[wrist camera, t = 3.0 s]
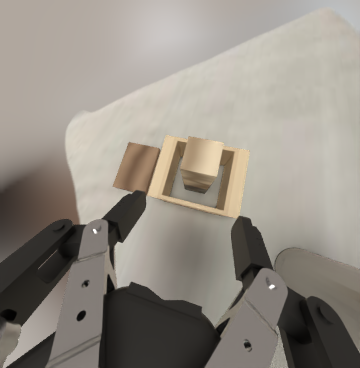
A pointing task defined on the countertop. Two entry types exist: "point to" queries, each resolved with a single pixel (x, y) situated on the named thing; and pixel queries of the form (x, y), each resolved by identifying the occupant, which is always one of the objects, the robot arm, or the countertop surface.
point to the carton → (230, 183)
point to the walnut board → (137, 167)
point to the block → (200, 163)
